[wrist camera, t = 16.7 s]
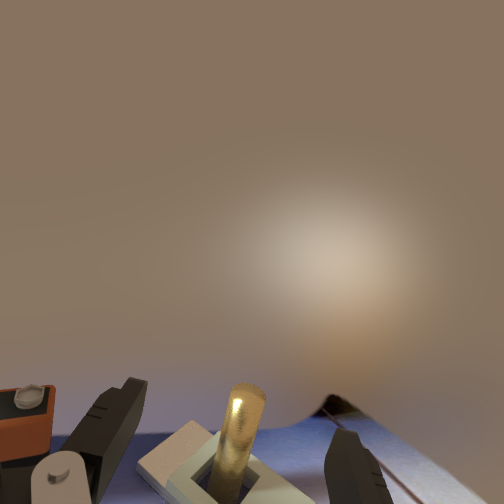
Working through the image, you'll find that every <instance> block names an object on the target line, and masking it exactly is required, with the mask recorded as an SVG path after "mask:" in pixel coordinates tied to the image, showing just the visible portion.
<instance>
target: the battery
mask: <svg viewBox="0 0 504 504" xmlns="http://www.w3.org/2000/svg"><path fill="white" fill-rule="evenodd" d="M55 392H56V388H55V387H54V386H53V385H45V386H37V385H32V384H31V385H28V386H26V387H23V388H15V389H5V390H0V463H1V466H2V469H6V468H19V467H29V466H33V465H37V464H38V463H39V462H40V461H42V460H43V459H44V458H46V457H47V456H49V455H50V444H51V434H52V423H53V413H54V403H55Z"/></svg>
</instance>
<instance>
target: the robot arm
mask: <svg viewBox="0 0 504 504" xmlns="http://www.w3.org/2000/svg"><path fill="white" fill-rule="evenodd" d="M147 384H148V383H147V381H144V380H140V379H136V378H132V377H129V378H128V380H127V381H126V383H125V384H124V385H123V387H122V388H121V389H118V388H113V387H112V388H110V389H108V390H107V391H105V392H104V393H102V394H101V395H100V396H99V397H98V399H97V400H96V401H95V403H94V404H93V406H92V407H91V408H90V409H89V411H88V412H87V413H86V416H84V418H83V419H82V420H81V422H80V423H79V424H78V426H77V427H76V428H75V430H74V431H73V432H72V434H71V435H70V436H69V438H68V439H67V440H66V442H65V443H64V445H63V446H62V447H61V449H60V450H59V451H58V452H56V453H53V454H51V455H49V456H47V457H46V458H44V459H43V460H42V461H40V462H39V463H38V464H37V465H33V466H29V467H19V468H6V469H2V466H1V463H0V504H99V502H100V500H101V498H102V496H103V494H104V492H105V490H106V489H107V487H108V485H109V483H110V481H111V479H112V477H113V475H114V473H115V471H116V469H117V467H118V465H119V463H120V461H121V459H122V457H123V455H124V453H125V451H126V449H127V447H128V445H129V443H130V441H131V439H132V437H133V435H134V433H135V431H136V429H137V426H138V424H139V421H140V418H141V415H142V411H143V406H144V401H145V395H146V390H147ZM324 473H325V479H326V484H327V489H328V494H329V499H330V504H394V503H393V501H392V498H391V495H390V493H389V490H388V489H387V485H386V482H385V480H384V478H383V475H382V472H381V469H380V467H379V464H378V462H377V460H376V459H375V458H374V456H373V455H372V454H371V452H370V451H369V450H368V449H365V448H363V447H362V445H361V442H360V439H359V436H358V434H357V433H356V432H354V431H349V430H345V429H341V428H337V429H336V431H335V433H334V436H333V439H332V441H331V444H330V446H329V449H328V452H327V454H326V457H325V463H324Z"/></svg>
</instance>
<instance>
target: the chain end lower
mask: <svg viewBox="0 0 504 504" xmlns="http://www.w3.org/2000/svg"><path fill="white" fill-rule="evenodd" d="M213 436H214V435H212V434H211V433H210V432H208V431H207V430H206V429H204V428H203V427H202V426H200V425H199V424H198V423H197V422H195V421H194V420H193V419H192V420H190V421H189V422H188V423H186V424H185V425H184V426H183V427H181V428H180V429H179V430H177V431H176V432H175V433H174V434H172V435H171V436H170V437H168V438H167V439H166V440H165V441H163V442H162V443H161V444H159V445H158V446H157V447H156V448H154V449H153V450H152V451H150V452H149V453H148V454H147V455H145V456H144V457H143V458H141V459H140V460H139V461H138V462H137V467H136V472H137V473H138V474H139V475H140V476H141V477H142V478H143V479H144V480H145V481H146V482H147V483H148V484H149V485H150V486H151V487H152V488H153V489H154V490H155V491H156V492H157V493H158V494H159V495H160V496H161V497H162V498H163V499H164V500H165V501H166V502H167V503H168V504H181V503H180V502H179V501H178V500H177V499H176V498H174V497H173V496H172V495H171V494H170V493H169V492H168V491H167V490H166V489H165V487H166V482H167V478H168V477H169V476H170V475H172V474H173V473H174V472H175V471H176V470H177V469H178V468H179V467H180V466H181V465H182V464H184V463H185V462H186V461H187V460H188V459H189V458H190V457H191V456H192V455H193V454H194V453H195V452H197V451H198V450H199V449H200V448H201V447H202V446H203V445H204V444H205V443H206V442H207V441H209V440H210V439H211V438H212V437H213ZM213 462H214V461H213ZM213 462H212V463H211V464H210V465H209V466H208V467H207V469H206V470H205V471H204V472H203V473H202V474H201V475H200V476H199V477H198V478H197V479H196V480H195V481H194V482H195V483H196V484H197V485H198V484H199V483H200V482H201V481H202V479H203V478H204V477H205V476H206V475H207V474H208V473H209V472H210V471H211V470H212V466H213ZM242 484H243V485H244V486H245V487H247V488H248V489H249V490H251V489H252V487H253V486H254V485H255V483H254V482H253V481H252V480H250V479H249V478H248V477H247V476H244V479H243V483H242Z"/></svg>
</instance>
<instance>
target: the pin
mask: <svg viewBox="0 0 504 504" xmlns="http://www.w3.org/2000/svg"><path fill="white" fill-rule="evenodd" d="M265 401H266V397H265V394H264V392H263V391H262V390H261V389H260V388H258V387H257V386H255V385H252V384H249V383H240V384H237V385H235V386H234V387H233V388H232V391H231V394H230V398H229V402H228V406H227V410H226V415H225V419H224V422H223V426H222V430H221V434H220V438H219V442H218V446H217V450H216V454H215V458H214V462H213V466H212V470H211V474H210V478H209V482H208V487H207V491H206V493H207V494H209V495H210V496H211V497H212V498H213V499H214V500H215V501H216V502H217V503H219V504H237V500H238V497H239V493H240V490H241V486H242V483H243V479H244V476H245V472H246V468H247V465H248V461H249V458H250V454H251V451H252V447H253V444H254V440H255V436H256V433H257V429H258V426H259V422H260V419H261V415H262V412H263V408H264V404H265Z"/></svg>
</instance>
